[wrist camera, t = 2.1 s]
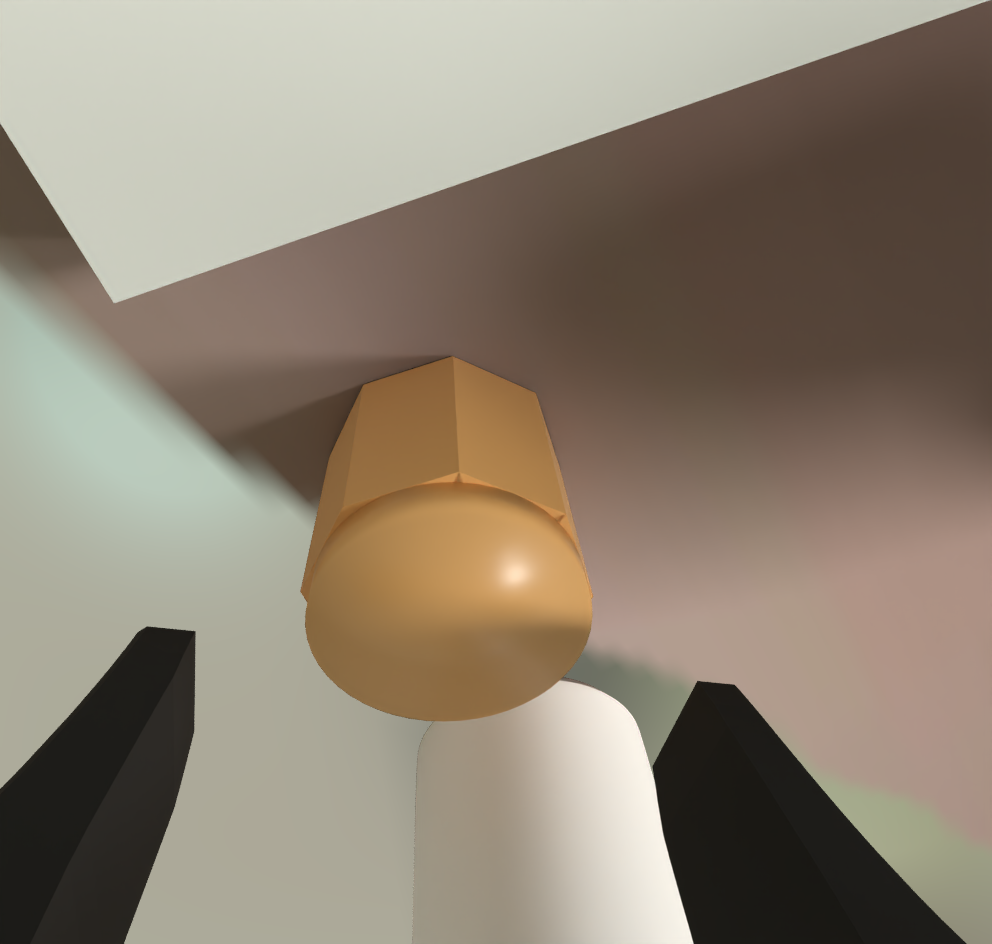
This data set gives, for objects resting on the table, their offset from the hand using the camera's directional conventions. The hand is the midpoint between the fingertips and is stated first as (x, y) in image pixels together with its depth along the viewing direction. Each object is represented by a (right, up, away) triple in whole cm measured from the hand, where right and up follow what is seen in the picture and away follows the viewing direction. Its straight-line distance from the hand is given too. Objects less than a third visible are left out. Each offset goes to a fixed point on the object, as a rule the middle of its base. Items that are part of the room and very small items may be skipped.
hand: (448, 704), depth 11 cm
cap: (0, +4, +5) cm, 7 cm away
